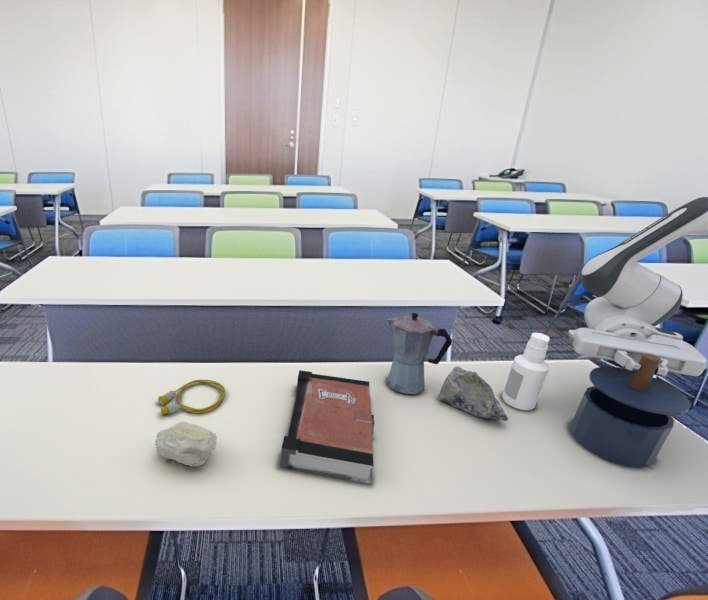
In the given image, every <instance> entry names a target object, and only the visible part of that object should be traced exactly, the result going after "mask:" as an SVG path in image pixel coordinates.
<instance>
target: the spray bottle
mask: <svg viewBox="0 0 708 600" xmlns="http://www.w3.org/2000/svg"><path fill="white" fill-rule="evenodd" d="M550 338H551V337H550V336H549V335H546V334H544V333H539V332H532V333H531V335H530V338H529V340H528V341H527V344H526V346H525V349H524V351H523V354H518V355H516V356H515V357H514V358H513V361H512V365H511V368H510V371H509V372H508V373H509V374H508V377H507V380H506V383H505V386H504V389H503V392H502V394H501V397H502V400H503V401H504V402H505V403H506V404H507V405H508V406H510V407H513V408H515V409H518V410H522V411H531V410H533V409H535V408H536V405H537V402H538V399H539V396H540V395H541V391H542V389H543V387H544V384H545V381H546V378H547V375H548V372H549V369H550V366H549V364H548V363H547V362H546V361H545V359H546V355H547V351H548V349H549V342H550Z"/></svg>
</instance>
